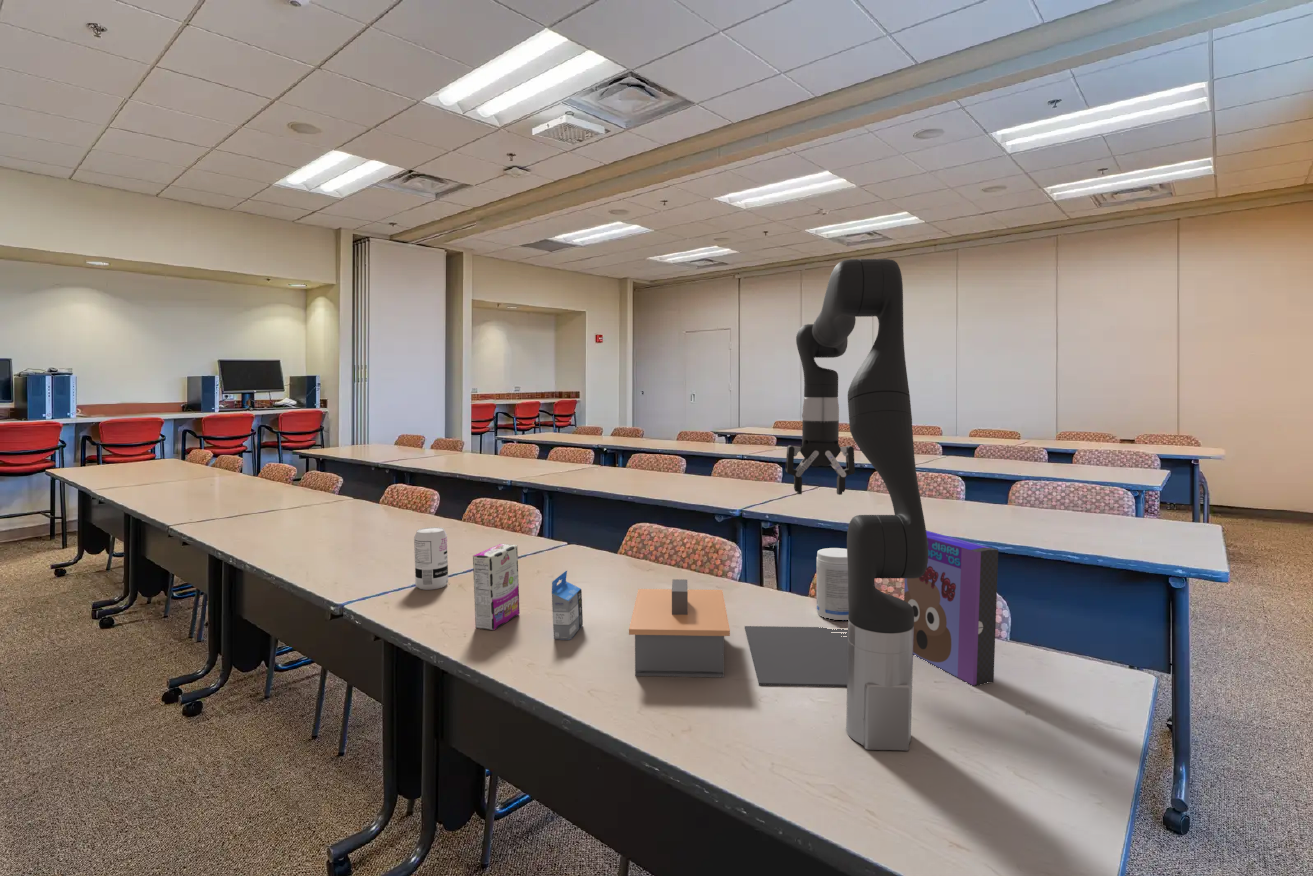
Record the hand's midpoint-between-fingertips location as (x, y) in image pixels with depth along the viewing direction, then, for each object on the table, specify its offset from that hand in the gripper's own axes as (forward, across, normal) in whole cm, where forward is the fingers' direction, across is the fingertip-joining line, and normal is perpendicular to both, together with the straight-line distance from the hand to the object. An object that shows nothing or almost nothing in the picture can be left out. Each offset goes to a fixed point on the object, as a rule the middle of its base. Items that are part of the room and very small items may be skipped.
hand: (819, 494), depth 142 cm
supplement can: (+30, -96, +27) cm, 104 cm away
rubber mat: (+29, -4, -15) cm, 33 cm away
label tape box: (+30, -54, -5) cm, 62 cm away
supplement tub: (+30, +6, +8) cm, 31 cm away
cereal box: (+30, +20, -19) cm, 40 cm away
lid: (+21, -30, -15) cm, 40 cm away
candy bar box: (+30, -71, +1) cm, 77 cm away
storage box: (+29, -30, -15) cm, 44 cm away
